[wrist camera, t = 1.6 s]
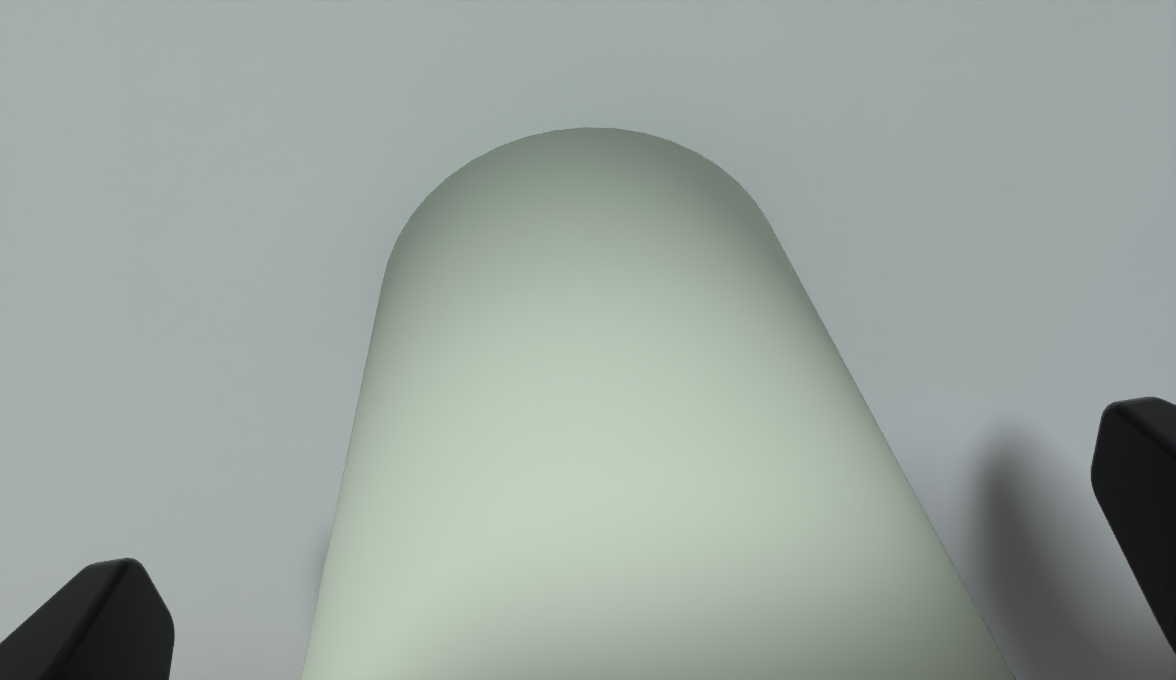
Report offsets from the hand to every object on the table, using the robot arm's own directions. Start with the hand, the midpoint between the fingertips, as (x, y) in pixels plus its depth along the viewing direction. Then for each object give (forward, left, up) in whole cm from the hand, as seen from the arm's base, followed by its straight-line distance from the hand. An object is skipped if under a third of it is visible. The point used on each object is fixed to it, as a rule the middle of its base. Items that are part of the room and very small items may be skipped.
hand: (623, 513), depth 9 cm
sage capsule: (0, 0, -3) cm, 3 cm away
